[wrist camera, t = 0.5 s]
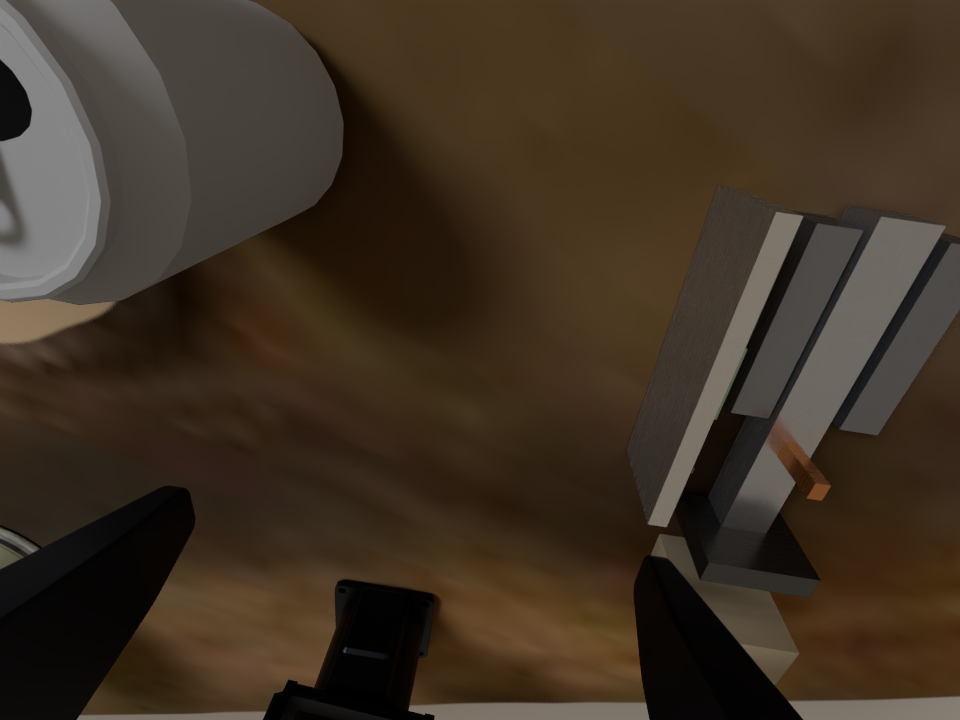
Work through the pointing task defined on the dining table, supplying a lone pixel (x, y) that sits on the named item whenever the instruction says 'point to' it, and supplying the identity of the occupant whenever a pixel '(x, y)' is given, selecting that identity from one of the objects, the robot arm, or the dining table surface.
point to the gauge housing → (770, 334)
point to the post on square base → (803, 417)
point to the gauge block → (738, 612)
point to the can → (151, 139)
